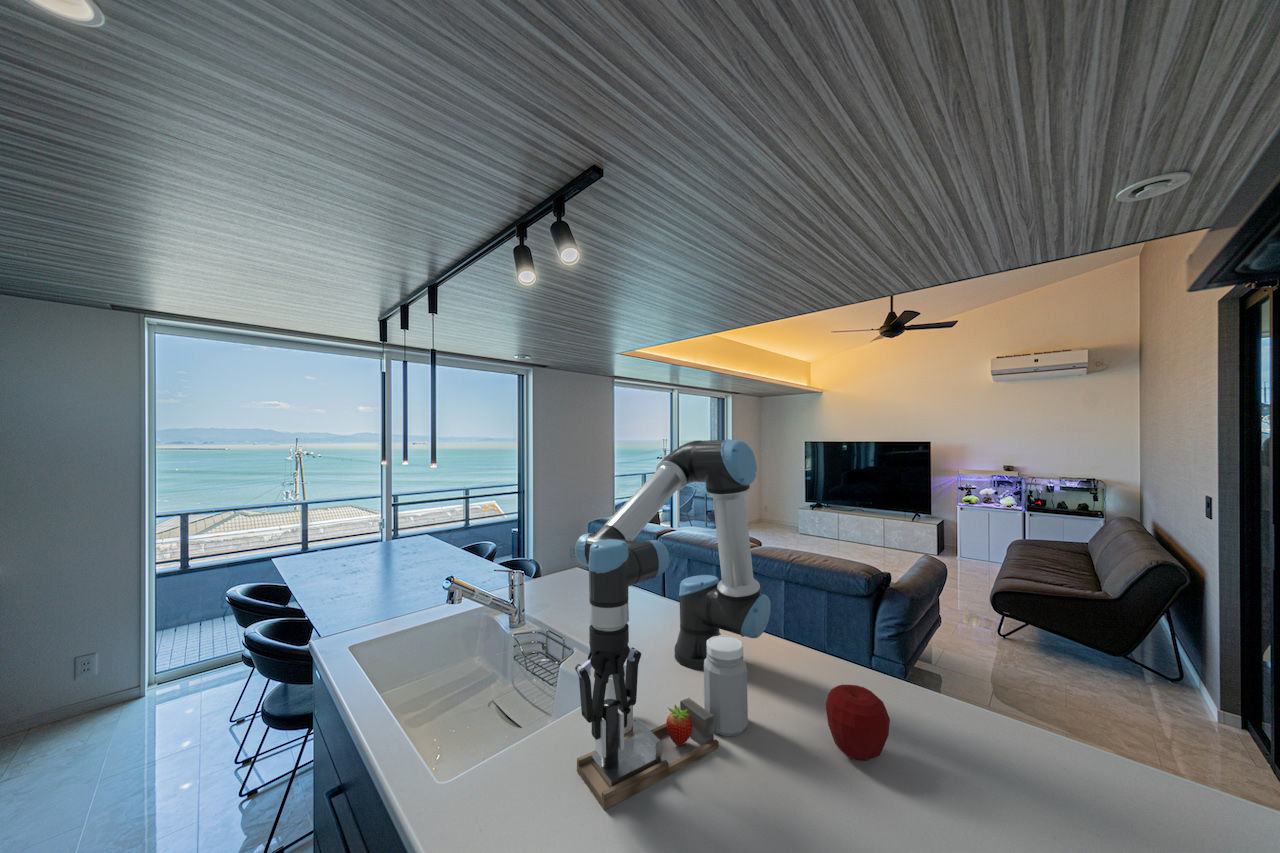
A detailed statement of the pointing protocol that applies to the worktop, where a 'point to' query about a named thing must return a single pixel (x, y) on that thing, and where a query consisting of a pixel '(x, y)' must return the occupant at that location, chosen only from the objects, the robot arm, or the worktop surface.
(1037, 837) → the worktop surface
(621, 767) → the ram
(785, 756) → the worktop surface
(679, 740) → the fruit
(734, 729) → the jar
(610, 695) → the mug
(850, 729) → the apple
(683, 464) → the robot arm
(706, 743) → the base
